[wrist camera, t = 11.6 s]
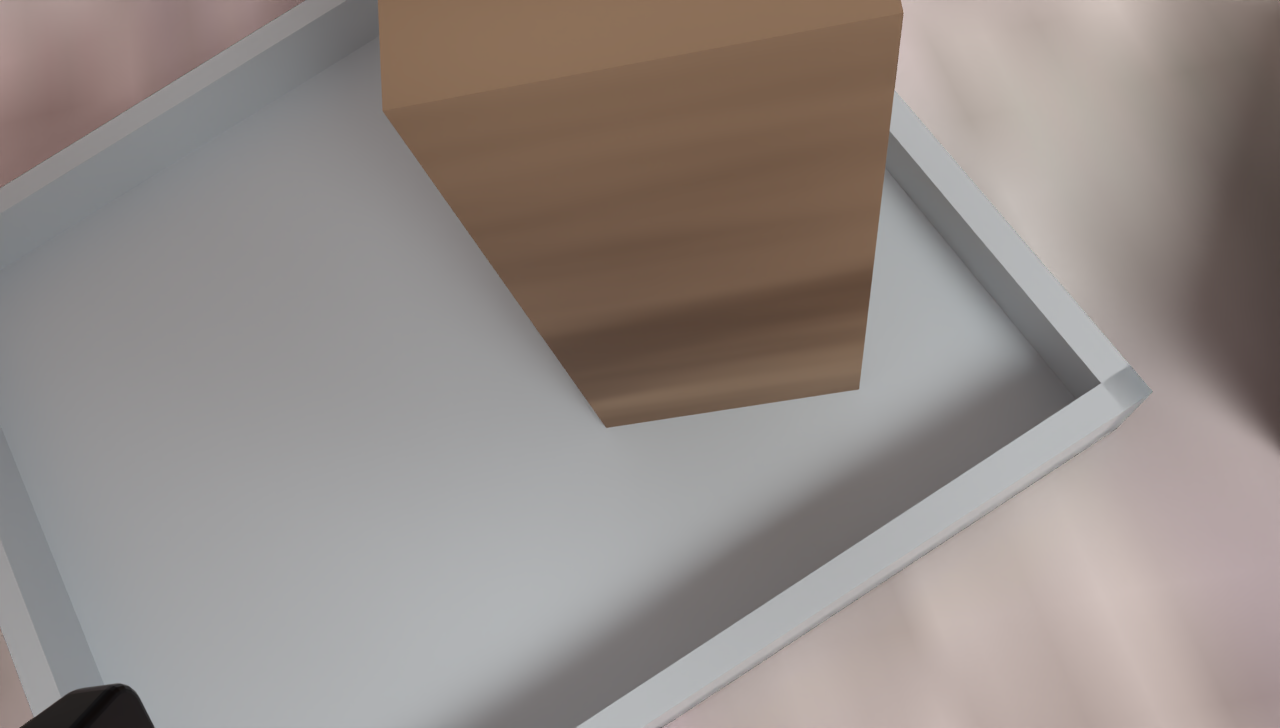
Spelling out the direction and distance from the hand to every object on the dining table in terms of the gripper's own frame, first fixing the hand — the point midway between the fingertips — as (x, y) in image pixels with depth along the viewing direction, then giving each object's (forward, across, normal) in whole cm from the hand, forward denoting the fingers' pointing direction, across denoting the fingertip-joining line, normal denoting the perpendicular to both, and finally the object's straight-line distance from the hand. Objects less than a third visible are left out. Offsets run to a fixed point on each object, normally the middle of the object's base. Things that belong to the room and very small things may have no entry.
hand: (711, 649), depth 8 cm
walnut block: (+14, 0, +3) cm, 15 cm away
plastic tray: (+15, +5, +4) cm, 16 cm away
